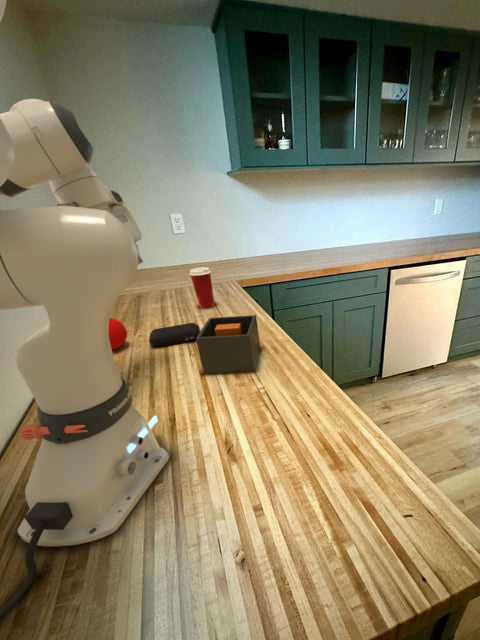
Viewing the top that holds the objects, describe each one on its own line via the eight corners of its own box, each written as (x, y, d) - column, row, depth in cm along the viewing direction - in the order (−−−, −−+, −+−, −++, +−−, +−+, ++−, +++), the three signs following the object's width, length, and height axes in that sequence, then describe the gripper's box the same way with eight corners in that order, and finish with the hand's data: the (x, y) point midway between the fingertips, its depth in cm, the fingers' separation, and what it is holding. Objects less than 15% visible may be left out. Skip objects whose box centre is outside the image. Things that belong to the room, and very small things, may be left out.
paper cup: (221, 304, 130) (214, 267, 123) (206, 310, 125) (198, 272, 118) (207, 302, 134) (199, 266, 127) (192, 308, 129) (183, 270, 122)
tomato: (109, 340, 105) (97, 310, 100) (138, 341, 103) (128, 310, 98) (84, 355, 97) (70, 323, 92) (115, 357, 94) (103, 323, 89)
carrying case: (150, 351, 96) (202, 341, 100) (147, 341, 95) (200, 331, 99) (151, 337, 105) (199, 329, 109) (148, 328, 104) (197, 320, 108)
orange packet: (244, 360, 86) (238, 328, 82) (220, 361, 87) (214, 329, 82) (245, 355, 89) (240, 323, 85) (223, 356, 89) (217, 324, 85)
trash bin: (254, 371, 82) (249, 335, 77) (203, 374, 83) (195, 338, 78) (260, 347, 94) (256, 315, 89) (215, 350, 94) (209, 317, 90)
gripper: (64, 196, 57) (115, 273, 63) (125, 194, 75) (160, 254, 81) (36, 212, 58) (88, 285, 64) (103, 206, 76) (139, 264, 82)
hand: (129, 268), depth 73 cm, fingers open, 8 cm apart
